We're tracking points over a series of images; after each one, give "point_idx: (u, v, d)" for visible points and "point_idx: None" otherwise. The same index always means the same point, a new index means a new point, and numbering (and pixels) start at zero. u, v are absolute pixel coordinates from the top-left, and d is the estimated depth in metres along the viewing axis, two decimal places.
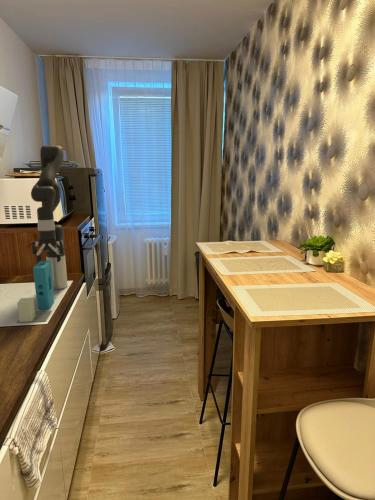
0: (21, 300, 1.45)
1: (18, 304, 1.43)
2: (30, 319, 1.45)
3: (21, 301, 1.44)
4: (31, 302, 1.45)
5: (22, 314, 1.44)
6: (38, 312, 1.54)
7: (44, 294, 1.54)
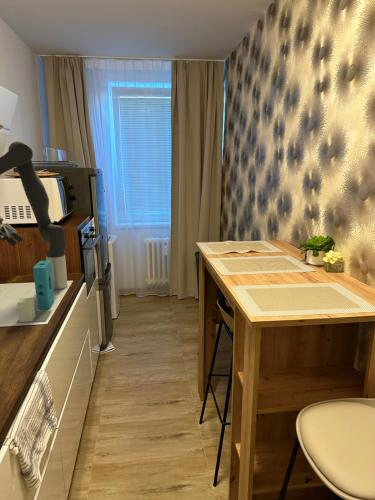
0: (21, 300, 1.45)
1: (18, 304, 1.43)
2: (30, 319, 1.45)
3: (21, 301, 1.44)
4: (31, 302, 1.45)
5: (22, 314, 1.44)
6: (38, 312, 1.54)
7: (44, 294, 1.54)
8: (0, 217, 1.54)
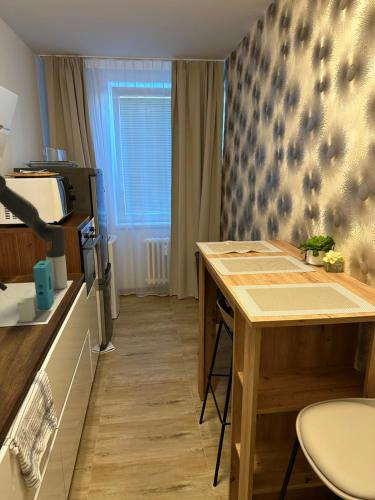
0: (21, 300, 1.45)
1: (18, 304, 1.43)
2: (30, 319, 1.45)
3: (21, 301, 1.44)
4: (31, 302, 1.45)
5: (22, 314, 1.44)
6: (38, 312, 1.54)
7: (44, 294, 1.54)
8: None
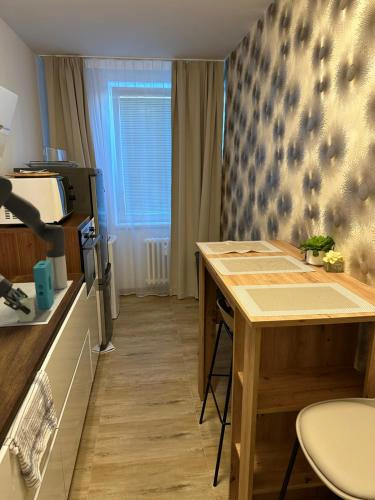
0: (21, 300, 1.45)
1: None
2: (30, 319, 1.45)
3: (21, 301, 1.44)
4: (31, 302, 1.45)
5: (22, 314, 1.44)
6: (38, 312, 1.54)
7: (44, 294, 1.54)
8: (9, 283, 1.42)
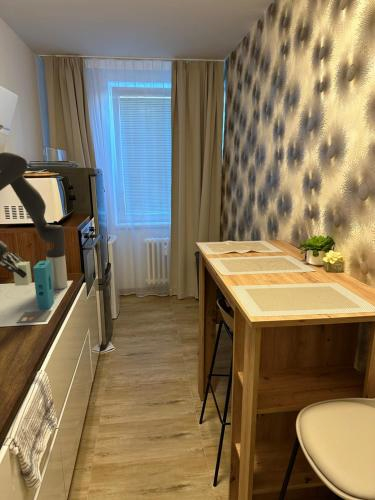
0: (17, 263, 1.41)
1: None
2: (26, 283, 1.41)
3: (17, 264, 1.40)
4: (27, 265, 1.41)
5: (17, 278, 1.40)
6: (38, 312, 1.54)
7: (44, 294, 1.54)
8: (5, 245, 1.39)
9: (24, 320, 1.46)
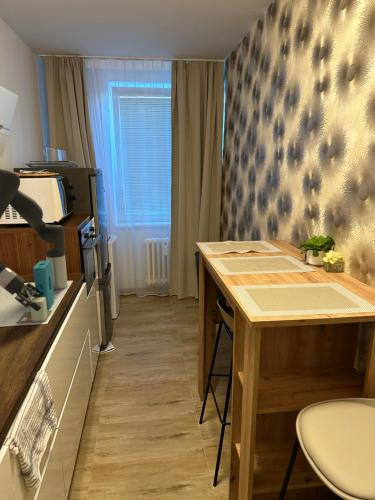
0: (34, 299, 1.46)
1: None
2: (42, 318, 1.46)
3: (34, 300, 1.45)
4: (43, 302, 1.45)
5: (34, 314, 1.45)
6: None
7: (44, 294, 1.54)
8: (22, 280, 1.43)
9: (24, 320, 1.46)
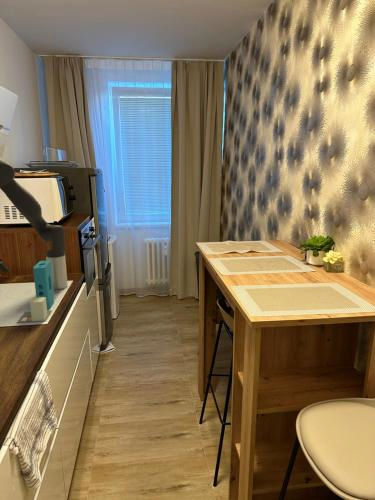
0: (34, 299, 1.46)
1: (31, 303, 1.43)
2: (42, 318, 1.46)
3: (34, 300, 1.45)
4: (43, 302, 1.45)
5: (34, 314, 1.45)
6: None
7: (44, 294, 1.54)
8: None
9: (24, 320, 1.46)
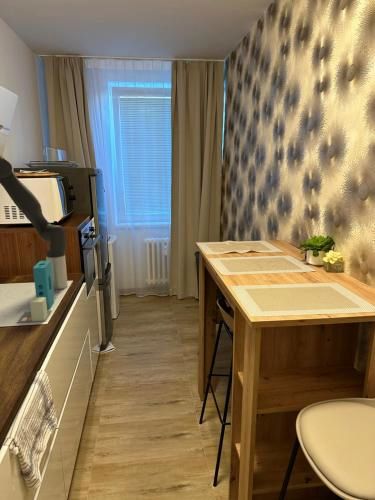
0: (34, 299, 1.46)
1: (31, 303, 1.43)
2: (42, 318, 1.46)
3: (34, 300, 1.45)
4: (43, 302, 1.45)
5: (34, 314, 1.45)
6: None
7: (44, 294, 1.54)
8: None
9: (24, 320, 1.46)
